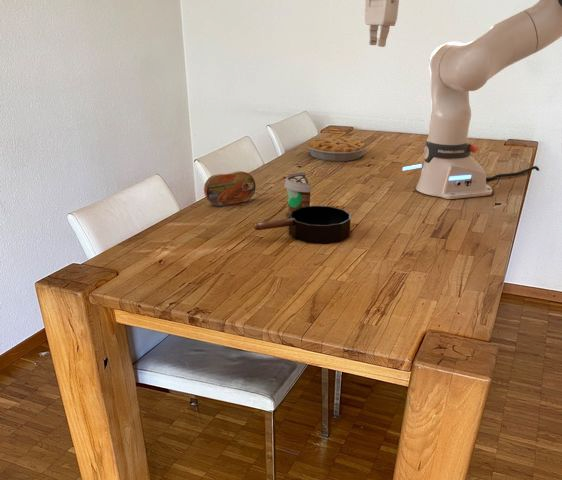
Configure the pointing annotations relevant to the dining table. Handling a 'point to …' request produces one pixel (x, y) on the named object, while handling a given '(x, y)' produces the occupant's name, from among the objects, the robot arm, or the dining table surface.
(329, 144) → the pie
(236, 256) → the dining table surface
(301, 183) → the food container
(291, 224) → the pan
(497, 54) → the robot arm
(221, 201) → the tin
